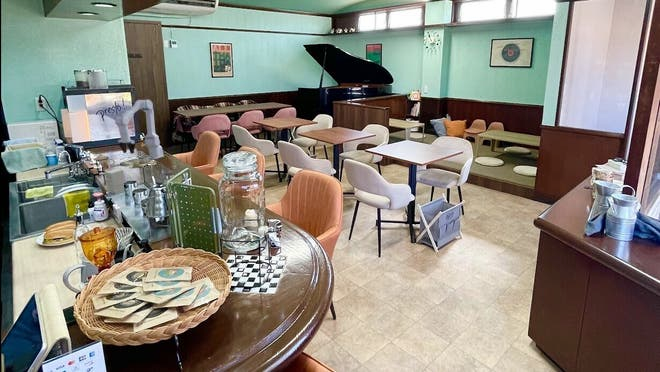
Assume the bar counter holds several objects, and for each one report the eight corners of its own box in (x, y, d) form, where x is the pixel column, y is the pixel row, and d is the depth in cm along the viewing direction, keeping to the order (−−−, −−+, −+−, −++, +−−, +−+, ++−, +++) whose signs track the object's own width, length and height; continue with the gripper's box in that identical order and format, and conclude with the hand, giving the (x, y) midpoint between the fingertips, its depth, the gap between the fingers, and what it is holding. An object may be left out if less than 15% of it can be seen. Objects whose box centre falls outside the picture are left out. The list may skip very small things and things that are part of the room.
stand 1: (134, 160, 303) (133, 158, 303) (143, 161, 299) (143, 159, 299) (120, 164, 293) (119, 162, 293) (129, 165, 289) (129, 163, 288)
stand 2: (147, 162, 297) (146, 160, 297) (156, 163, 293) (156, 160, 293) (133, 166, 287) (132, 164, 287) (143, 167, 283) (142, 165, 282)
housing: (146, 161, 294) (145, 155, 292) (150, 161, 292) (149, 155, 290) (138, 163, 288) (137, 157, 286) (142, 164, 286) (141, 157, 284)
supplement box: (121, 188, 237) (116, 168, 233) (128, 190, 233) (123, 169, 229) (108, 192, 231) (103, 171, 227) (115, 194, 227) (110, 173, 223)
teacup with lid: (96, 173, 275) (92, 156, 271) (97, 170, 282) (93, 153, 279) (116, 170, 279) (112, 153, 276) (116, 167, 287) (112, 151, 284)
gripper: (112, 134, 280) (116, 153, 284) (126, 135, 274) (130, 155, 278) (121, 132, 286) (125, 151, 290) (135, 133, 280) (139, 152, 284)
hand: (128, 153), depth 285 cm, fingers open, 7 cm apart
